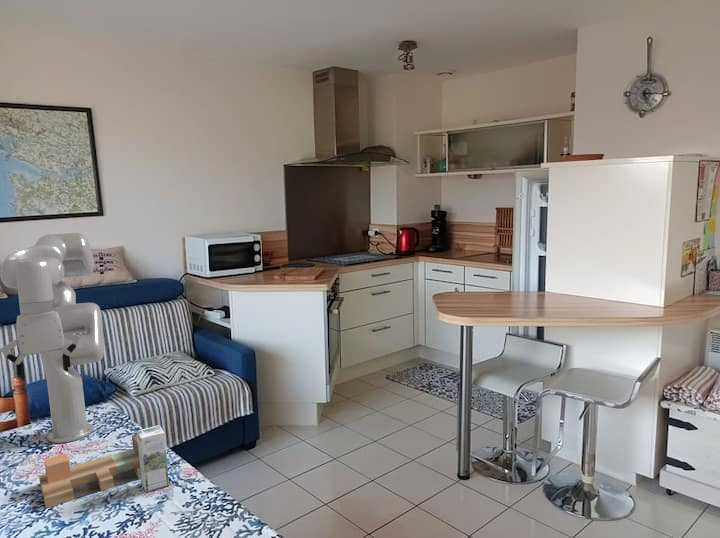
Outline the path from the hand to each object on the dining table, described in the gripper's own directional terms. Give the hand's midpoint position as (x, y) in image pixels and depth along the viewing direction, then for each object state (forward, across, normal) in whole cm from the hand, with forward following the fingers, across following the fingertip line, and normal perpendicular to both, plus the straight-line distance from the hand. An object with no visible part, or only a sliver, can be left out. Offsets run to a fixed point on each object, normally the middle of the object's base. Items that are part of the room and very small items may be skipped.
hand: (44, 374), depth 138 cm
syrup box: (+29, -19, +20) cm, 40 cm away
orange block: (+26, 0, +3) cm, 26 cm away
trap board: (+29, -8, +7) cm, 31 cm away
